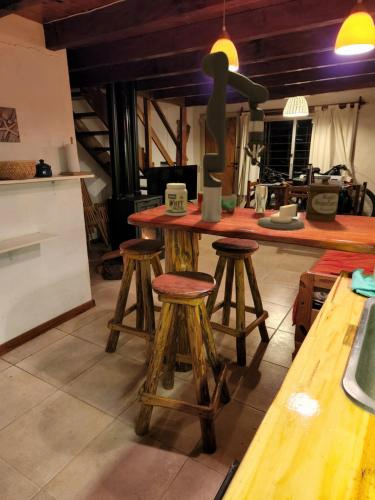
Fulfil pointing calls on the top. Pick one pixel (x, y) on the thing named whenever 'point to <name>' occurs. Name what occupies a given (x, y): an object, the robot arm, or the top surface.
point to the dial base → (281, 224)
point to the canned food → (200, 200)
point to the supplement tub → (176, 199)
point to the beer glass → (260, 198)
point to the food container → (228, 203)
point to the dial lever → (285, 214)
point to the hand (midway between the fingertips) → (253, 165)
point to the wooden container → (322, 201)
